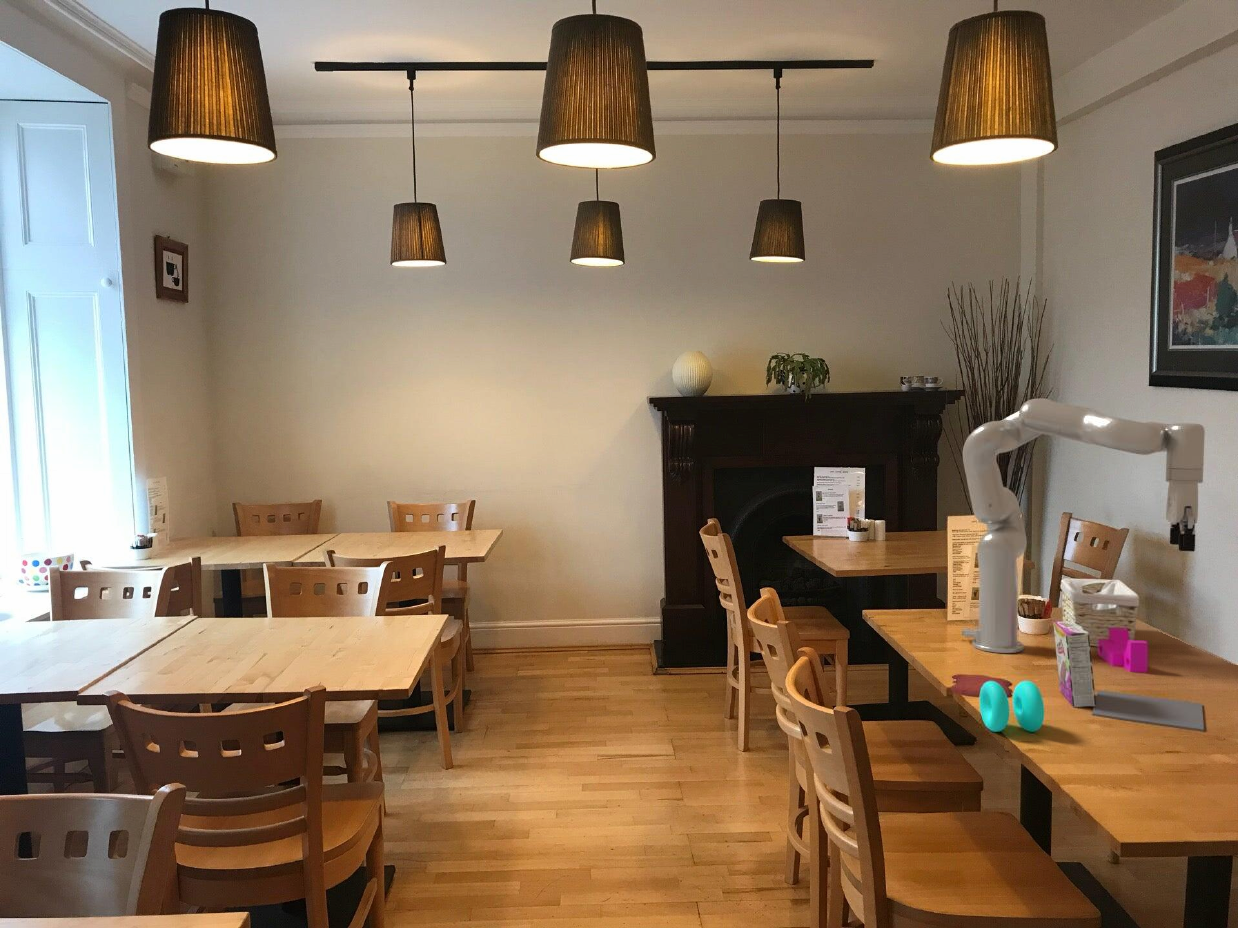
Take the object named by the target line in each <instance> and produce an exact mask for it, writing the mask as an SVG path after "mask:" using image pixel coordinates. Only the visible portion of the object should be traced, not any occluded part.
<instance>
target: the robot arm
mask: <svg viewBox="0 0 1238 928" xmlns="http://www.w3.org/2000/svg"><path fill="white" fill-rule="evenodd" d="M1205 432H1206V431H1205V428H1204V426H1203V425H1202V424H1200V423H1193V422H1192V423H1190V422H1189V423H1186V422H1185V423H1183V422H1182V423H1181V422H1180V423H1162V422H1155V421H1145V422H1143V421H1142V422H1141V421H1135V420H1132V419H1131V420H1130V419H1126V418H1121V417H1117V416H1116V417H1115V416H1111V415H1107V414H1104V413H1102V412H1099V411H1098V410H1096V409H1093V408H1089V407H1084V406H1080V405H1079V406H1078V405H1073V404H1069V403H1064V402H1057V401H1053V399H1052V400H1051V399H1050V398H1043V397H1041V398H1032V399H1029V400H1026V401H1025V402H1024V403H1023V404H1022V405H1021V407H1020V409H1019V410H1018V411H1016V412H1014V413H1013V414H1010V415H1009V416H1006V417H1005V418H1003V419H1002V420H995V421H994V420H993V421H989V422H985V423H983V424H981V425H980V426H978V427H977V428H975V429H974V430H973V431H972V432H971V433H970V434H969V435H968V436H967V437H966V440H965V442H964V444H963V449H962V461H963V467H964V472H965V476H966V477H965V478H966V481H967V487H968V488H967V489H968V492H969V493H968V494H969V497H970V501H971V506H972V511H973V514H974V517H975V518H976V519H977V521H979V522H980V523H982V524H985V525H986V528H987V532H986V533H984V534H983V535H982V537H980V539H979V541H978V544H977V548H976V550H977V552H976V553H977V564H978V565H977V566H978V581H979V582H978V584H979V585H978V586H979V587H978V591H979V593H978V595H979V597H978V615H979V616H978V628H974V629H970V628H966V627H965V628H964V627H963V628H961V636H964V637H965V638H973V640H972V646H973V647H974V648H975V649H977V650H981V651H983V652H989V653H990V652H991V653H998V654H999V653H1001V654H1013V653H1019V652H1022V651H1024V650H1025V649H1024V646H1025V645H1024V643H1022V642H1021V641H1018V622H1019V621H1018V613H1019V612H1018V610H1019V609H1018V607H1019V601H1018V600H1019V575H1018V566H1017V564H1018V563H1017V560H1018V559H1019V558H1020V557H1021V556H1023V554H1024V553H1025V551H1026V549H1027V546H1028V545H1027V543H1028V541H1027V535H1026V530H1025V529H1026V528H1025V525H1024V522H1023V521H1024V520H1023V517H1022V513H1021V508H1020V505H1019V500H1018V499H1017V496H1016V494H1015V493H1014V492H1013V491H1012V490H1010V489H1009V488H1007V487H1005V486H1004V484H1003V480H1002V475H1001V471H1000V468H999V465H998V462H997V456H998V455H999V454H1002V453H1007V452H1008V453H1009V452H1011V451H1013V450H1016V449H1017V448H1019V447H1021V446H1023V445H1025V444H1027V443H1028V442H1030V441H1032V440H1034V439H1036V438H1038V437H1040V436H1042V435H1047V436H1052V437H1057V438H1058V437H1059V438H1063V439H1068V440H1072V441H1077V442H1079V443H1085V444H1088V445H1089V444H1090V445H1094V446H1099V447H1103V448H1106V449H1107V448H1108V449H1113V450H1117V451H1122V452H1126V453H1131V454H1136V455H1140V456H1141V455H1142V456H1148V455H1151V454H1155V453H1160V452H1161V453H1162V452H1165V453H1166V463H1165V464H1166V465H1165V482H1167V483H1168V488H1167V499H1166V512H1165V520H1167V521H1168V522H1170V527H1169V544H1170V545H1174V546H1178V551H1179V552H1195V551H1196V524H1197V523H1198V518H1199V517H1198V515H1199V484H1203V483H1204V460H1205V459H1204V458H1205V434H1206V433H1205ZM1020 516H1021V517H1020Z"/></svg>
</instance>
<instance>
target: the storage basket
mask: <svg viewBox="0 0 1238 928" xmlns="http://www.w3.org/2000/svg"><path fill="white" fill-rule="evenodd" d="M1060 589H1061V592H1062V593H1061V597H1062V599H1061V601H1062V603H1061V606H1062V610H1061V611H1062V621H1076V622H1077V623H1078V624H1079V625H1080V626H1081V627H1082V628H1084V629H1085V630H1086V631H1087V632H1088V633H1089V639H1090V647H1097V648H1098V639H1109V628H1126V629H1127V630H1129V640H1130V641H1135V634H1136V625H1137V623H1136V622H1137V616H1138V610H1139V608H1138V607H1140V596H1139V595H1138V594H1137V593H1136V591H1134V590H1133V589H1131V588H1130V587H1128V585H1126V584H1125V583H1124V582H1123V581H1121V580H1120V579H1102V578H1101V579H1098V578H1066V577H1064V578H1063V579H1061V581H1060ZM1083 590H1091V591H1099V592H1095V593H1085V592H1083Z"/></svg>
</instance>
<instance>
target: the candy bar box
mask: <svg viewBox="0 0 1238 928" xmlns="http://www.w3.org/2000/svg"><path fill="white" fill-rule="evenodd" d="M1052 624H1053V633H1054V643H1055V653H1056V661H1057V662H1056V663H1057V672H1058V680H1059V682H1058V683H1059V692H1060V693H1061V694H1062V695H1063V697H1064V698H1065V699H1066V700H1067V701H1068V702H1069V704H1070V705H1071V706H1072V707H1073V708H1079V709H1082V708H1094V707H1096V694H1095V693H1096V691H1095V682H1094V680H1095V679H1094V671H1093V660H1092V651H1091V646H1090V639H1089V633H1088V632H1087V631H1086V630H1085V629H1084V628H1082V627H1081V626H1080V625H1079V624H1078V623H1077V622H1076V621H1063V620H1062V621H1053V622H1052Z"/></svg>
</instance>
